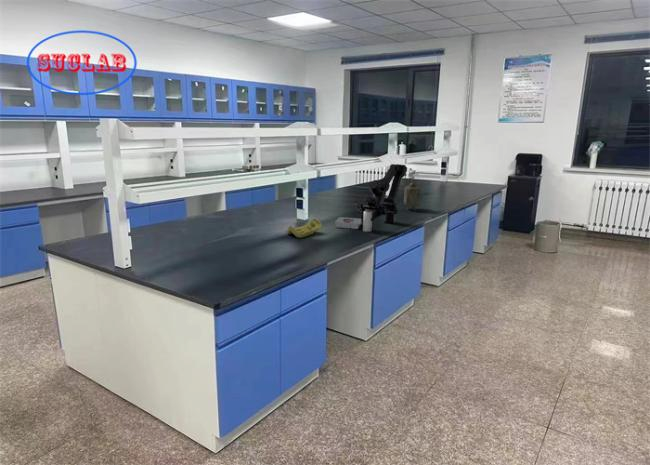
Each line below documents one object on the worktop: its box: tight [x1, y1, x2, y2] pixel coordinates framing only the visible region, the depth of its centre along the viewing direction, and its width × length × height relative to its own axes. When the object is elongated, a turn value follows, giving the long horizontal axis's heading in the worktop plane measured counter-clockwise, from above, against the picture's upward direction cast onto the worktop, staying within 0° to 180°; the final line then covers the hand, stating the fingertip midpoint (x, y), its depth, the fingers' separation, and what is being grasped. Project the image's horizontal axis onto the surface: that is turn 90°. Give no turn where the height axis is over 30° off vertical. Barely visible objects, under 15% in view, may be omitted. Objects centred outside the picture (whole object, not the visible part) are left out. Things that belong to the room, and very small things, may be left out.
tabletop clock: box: [403, 176, 421, 212], centre depth 316 cm, size 14×9×25 cm, turn 179°
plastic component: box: [286, 218, 323, 239], centre depth 243 cm, size 20×7×10 cm
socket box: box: [334, 216, 362, 230], centre depth 264 cm, size 14×14×4 cm
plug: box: [362, 209, 373, 233], centre depth 252 cm, size 5×5×12 cm
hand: (366, 220), depth 251 cm, fingers open, 6 cm apart
